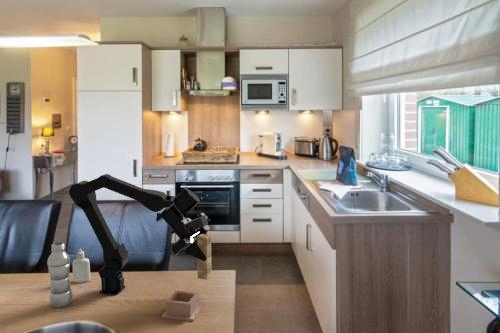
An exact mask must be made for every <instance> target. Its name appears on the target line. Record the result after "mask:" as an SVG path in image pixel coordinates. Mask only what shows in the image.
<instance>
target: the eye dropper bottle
mask: <svg viewBox="0 0 500 333" xmlns="http://www.w3.org/2000/svg"><path fill="white" fill-rule="evenodd" d="M90 280H91V266H90V259H89V258H86V257H85V252H84V251H83V250H82V248H79V249H78V252H76V258H75V259H74V260H73V261H72V282H73V283H78V284H79V283H80V284H81V283H82V284H83V283H87V282H89V281H90Z"/></svg>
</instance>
